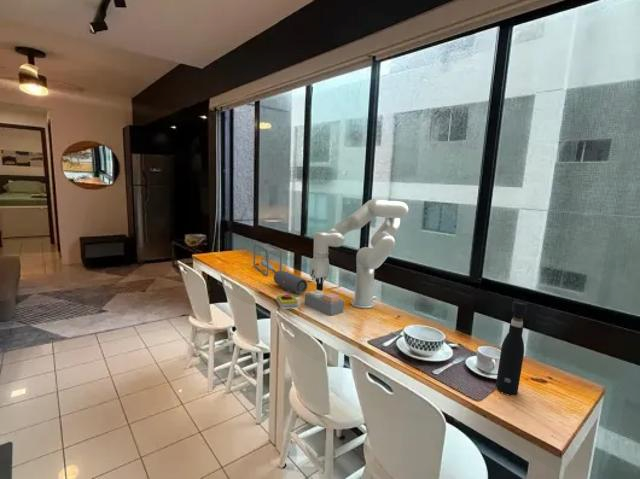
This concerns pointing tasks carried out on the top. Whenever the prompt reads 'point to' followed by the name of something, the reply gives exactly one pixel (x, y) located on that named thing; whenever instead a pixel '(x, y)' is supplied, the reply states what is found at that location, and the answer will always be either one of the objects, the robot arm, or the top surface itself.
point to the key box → (324, 305)
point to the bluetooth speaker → (290, 282)
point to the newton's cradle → (267, 258)
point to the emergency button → (287, 301)
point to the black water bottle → (512, 353)
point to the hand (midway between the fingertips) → (319, 289)
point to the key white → (317, 293)
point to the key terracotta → (331, 297)
